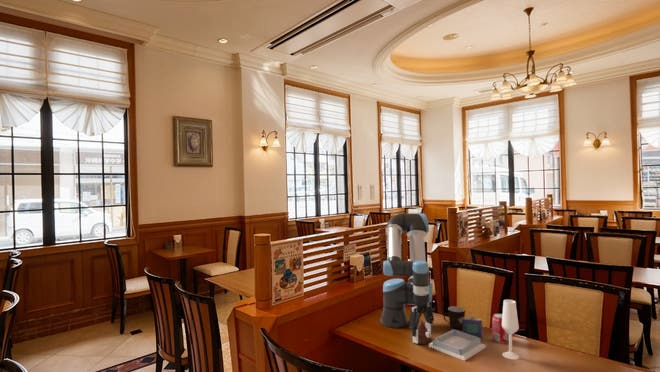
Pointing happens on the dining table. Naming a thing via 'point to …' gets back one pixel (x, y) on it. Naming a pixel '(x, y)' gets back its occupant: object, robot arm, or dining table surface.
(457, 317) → the coffee mug
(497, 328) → the soda can
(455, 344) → the white square tray
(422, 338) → the poop emoji
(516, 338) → the dining table surface
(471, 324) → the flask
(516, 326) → the champagne flute
